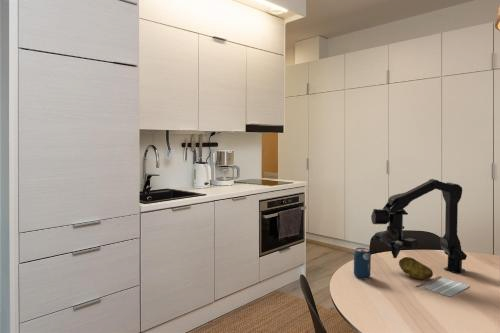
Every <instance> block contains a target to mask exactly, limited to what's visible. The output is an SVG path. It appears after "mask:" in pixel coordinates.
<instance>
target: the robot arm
mask: <svg viewBox="0 0 500 333" xmlns="http://www.w3.org/2000/svg"><path fill="white" fill-rule="evenodd" d="M434 190H438V191H440V192H441V193H442V199H443V200H444V202H445V222H444V223H445V225H444V228H445V229H444V234H443V236H440V237H439V241H440V242H439V246H440V247H441V248H440V249H441V250H442V251H443V252H444V254H445V255H447V266H446V267H444V268H443V270H444V271H449V272H451V273H455V274H461V273H463V272H465V271H466V269H465V268H463V261H465V260H466V259H467V257H468V255H467V253H466V252H465V251H463V250H462V245H461V244H462V243H461V241H460V238H459V236H458V214H459V212H458V211H459V210H458V209H459V208H458V206H459V205H458V204H459V202H460V200H461V199H462V195H463V187H462V186H461V185H460V184H458V183H454V182H443V181H439V179H434V178H431V179H428V180H427V181H425V182H424V183H422V184H420V185H417V186H416V187H414V188H412V189H409V190H408V191H406V192H402V193H397V194H394V195H391V196H389V198H388V200H387V202H386V203H385V205H384V207H383V208H379V209H378V208H373V210H372V213H371V217H370V218H371V224H372V225H387V224H388V225H387V226H386V230H385V231H382V230H381V231H377V232H375V233H374V236H373V237H374V239H375V240H377V241H381V242H382V243H385V244H386V245H387V246H388V247H389V249H390V252H391V255H392V258H393V259H396V258H397V257H398V255H399V254H400V252H401V251H402V249H403V247H405V248H408V249H412V248H416V247H419V241H418V240H417V239H416V238H410V237H408V238H405V235H404V234H403V230H404V229H405V226H404V223H403V221H404V216H407V215H409V213H408V212H407V211H406V210H405V208H407V207H408V206H409V205H410V204H411V202H413V201H414V200H416V199H418V198H420V197H423V196H424V195H426V194H428V193H429V192H432V191H434Z"/></svg>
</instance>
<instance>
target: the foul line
mask: <svg viewBox="0 0 500 333" xmlns="http://www.w3.org/2000/svg"><path fill="white" fill-rule="evenodd" d="M441 277H442V276H440V275H438V276H435V277H433V278H430V279H428V280H426V281H424V282H421V283H420V284H416V286H415V287H417V288H420V287H422V286H424V285H427V284H429V283H431V282H433V281H435V280H437V279H440V278H441Z"/></svg>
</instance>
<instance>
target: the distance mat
mask: <svg viewBox="0 0 500 333" xmlns="http://www.w3.org/2000/svg"><path fill="white" fill-rule="evenodd" d="M469 287H470V285H467V284H464V283H461V282H457V281H454V280H451V279H448V278H445V277H444V278H442V279H440V280H438V281H436V282H434V283H431V284H429V285H427V286H425V287H424V288H423V289H425V290H429V291H431V292H435V293H438V294H441V295H443V296H446V297H451V298H452V296H455V295H456V294H458V293H461V292H463V291H464V290H466V289H469Z"/></svg>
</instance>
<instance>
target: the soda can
mask: <svg viewBox="0 0 500 333" xmlns="http://www.w3.org/2000/svg"><path fill="white" fill-rule="evenodd" d="M371 256H372V254H371V251H370V249H369V248H365V247H357V248H355V251H354V252H353V275H354V277H355V278H357V279H359V280H368V279H369V278H370V276H371V266H372V265H371V260H372V259H371Z"/></svg>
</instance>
